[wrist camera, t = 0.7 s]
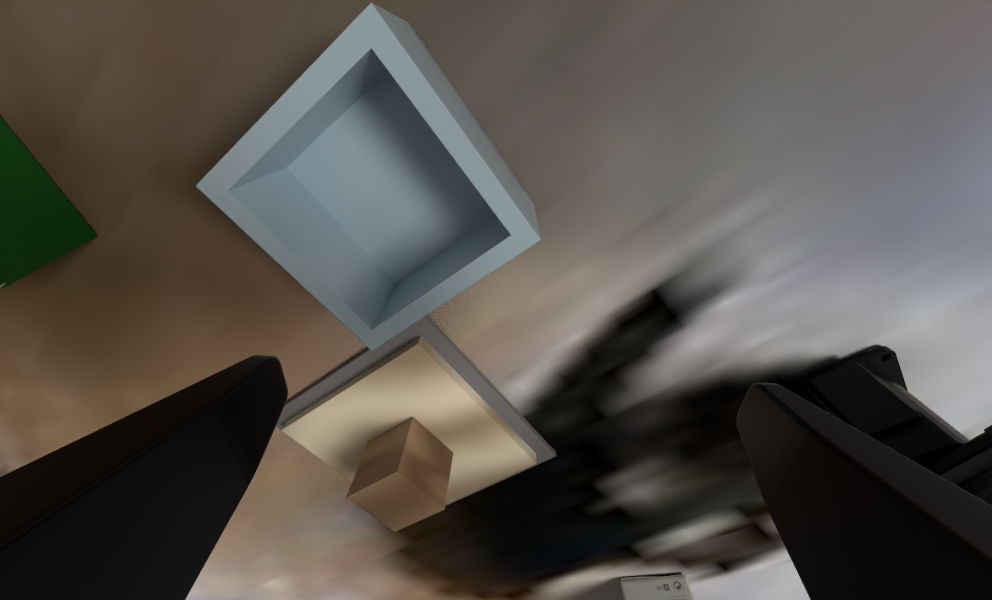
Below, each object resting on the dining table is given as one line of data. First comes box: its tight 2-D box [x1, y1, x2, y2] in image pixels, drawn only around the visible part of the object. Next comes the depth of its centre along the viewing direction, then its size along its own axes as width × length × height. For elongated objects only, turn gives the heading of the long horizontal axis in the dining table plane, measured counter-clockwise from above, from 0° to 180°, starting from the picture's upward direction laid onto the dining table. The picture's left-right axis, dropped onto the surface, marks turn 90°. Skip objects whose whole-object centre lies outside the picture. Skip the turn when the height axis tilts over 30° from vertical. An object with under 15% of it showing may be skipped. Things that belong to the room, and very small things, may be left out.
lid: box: [282, 336, 537, 532], centre depth 25 cm, size 12×12×5 cm
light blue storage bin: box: [196, 3, 541, 350], centre depth 17 cm, size 9×9×5 cm
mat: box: [276, 315, 556, 506], centre depth 27 cm, size 14×14×1 cm
